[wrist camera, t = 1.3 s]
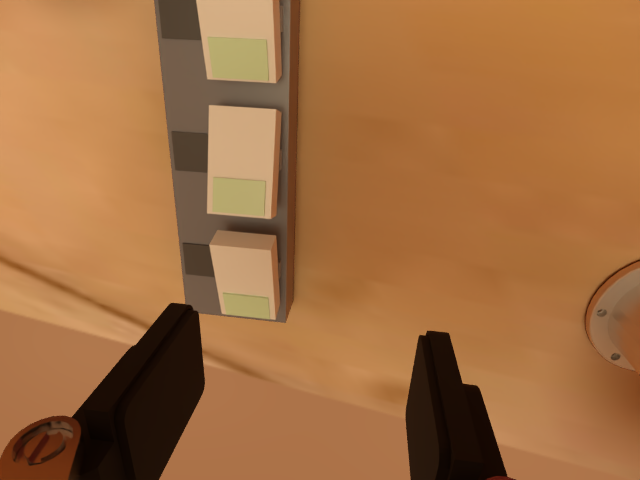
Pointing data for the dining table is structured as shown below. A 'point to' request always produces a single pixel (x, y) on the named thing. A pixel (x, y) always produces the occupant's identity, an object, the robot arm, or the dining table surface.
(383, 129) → the dining table surface
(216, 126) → the rocker middle
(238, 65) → the rocker
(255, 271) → the rocker
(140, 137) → the dining table surface
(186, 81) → the power strip
